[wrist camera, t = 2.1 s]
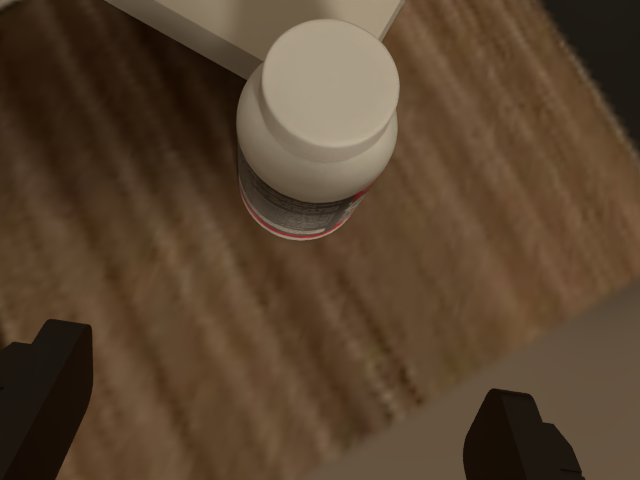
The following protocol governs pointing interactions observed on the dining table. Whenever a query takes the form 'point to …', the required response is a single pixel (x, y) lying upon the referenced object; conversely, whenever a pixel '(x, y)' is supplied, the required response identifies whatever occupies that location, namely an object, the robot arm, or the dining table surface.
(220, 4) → the dock
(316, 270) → the dining table surface
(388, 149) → the pill bottle
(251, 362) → the dining table surface
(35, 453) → the robot arm
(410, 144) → the dining table surface
